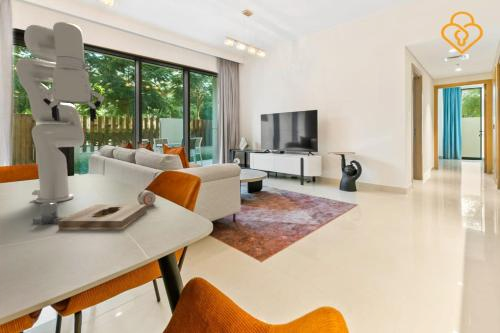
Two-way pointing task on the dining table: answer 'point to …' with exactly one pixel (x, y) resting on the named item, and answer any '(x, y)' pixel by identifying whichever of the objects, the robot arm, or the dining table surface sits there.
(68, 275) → the dining table surface
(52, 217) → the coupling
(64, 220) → the socket plate
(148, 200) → the roller toy
